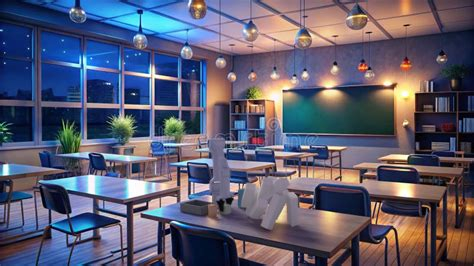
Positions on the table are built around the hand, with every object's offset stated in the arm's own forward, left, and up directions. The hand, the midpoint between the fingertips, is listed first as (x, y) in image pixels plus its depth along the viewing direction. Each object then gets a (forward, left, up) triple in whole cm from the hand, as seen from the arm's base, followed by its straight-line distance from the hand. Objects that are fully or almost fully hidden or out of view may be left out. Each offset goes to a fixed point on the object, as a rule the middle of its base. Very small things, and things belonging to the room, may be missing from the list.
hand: (225, 210), depth 223 cm
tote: (+7, -16, -1) cm, 17 cm away
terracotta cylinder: (+11, 0, -1) cm, 11 cm away
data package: (-18, +3, -2) cm, 18 cm away
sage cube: (0, 0, -2) cm, 2 cm away
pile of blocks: (+3, +33, -2) cm, 33 cm away
